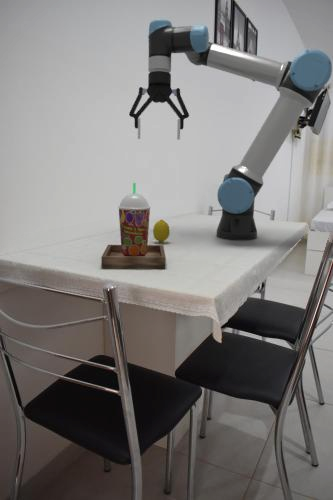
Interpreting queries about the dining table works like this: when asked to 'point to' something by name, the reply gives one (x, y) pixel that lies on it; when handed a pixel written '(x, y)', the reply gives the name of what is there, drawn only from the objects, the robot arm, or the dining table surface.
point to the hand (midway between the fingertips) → (158, 139)
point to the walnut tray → (133, 258)
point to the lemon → (161, 231)
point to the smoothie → (134, 224)
